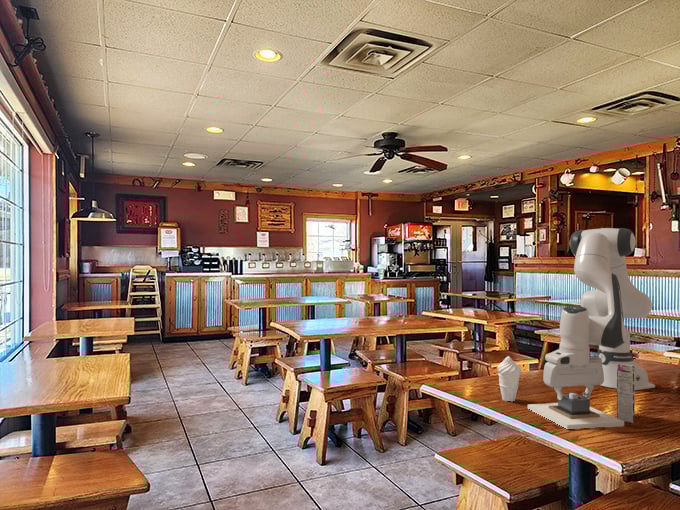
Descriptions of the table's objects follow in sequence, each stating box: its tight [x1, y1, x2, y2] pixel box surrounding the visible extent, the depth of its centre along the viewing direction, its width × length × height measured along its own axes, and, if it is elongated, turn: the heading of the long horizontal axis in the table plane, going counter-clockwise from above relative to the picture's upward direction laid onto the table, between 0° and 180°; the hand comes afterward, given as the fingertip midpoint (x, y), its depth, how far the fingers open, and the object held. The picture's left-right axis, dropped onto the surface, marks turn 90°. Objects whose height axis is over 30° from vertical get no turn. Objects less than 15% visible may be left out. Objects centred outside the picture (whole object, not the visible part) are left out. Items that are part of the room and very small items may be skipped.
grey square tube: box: [557, 393, 591, 415], centre depth 153 cm, size 7×7×5 cm
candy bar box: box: [616, 364, 636, 424], centre depth 153 cm, size 11×5×16 cm, turn 148°
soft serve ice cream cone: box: [496, 355, 522, 403], centre depth 170 cm, size 8×8×16 cm
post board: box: [527, 392, 625, 430], centre depth 153 cm, size 20×20×8 cm
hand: (573, 399), depth 153 cm, fingers open, 8 cm apart
